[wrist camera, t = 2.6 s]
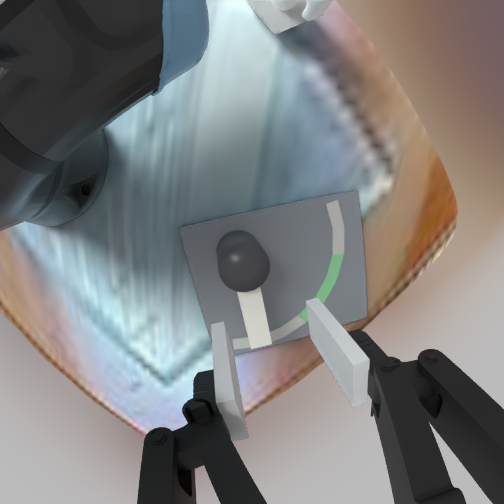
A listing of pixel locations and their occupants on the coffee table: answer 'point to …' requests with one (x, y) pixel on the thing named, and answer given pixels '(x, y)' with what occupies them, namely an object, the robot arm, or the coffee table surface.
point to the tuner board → (286, 266)
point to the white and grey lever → (246, 280)
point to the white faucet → (287, 12)
